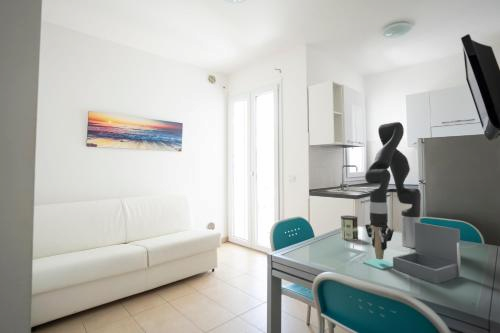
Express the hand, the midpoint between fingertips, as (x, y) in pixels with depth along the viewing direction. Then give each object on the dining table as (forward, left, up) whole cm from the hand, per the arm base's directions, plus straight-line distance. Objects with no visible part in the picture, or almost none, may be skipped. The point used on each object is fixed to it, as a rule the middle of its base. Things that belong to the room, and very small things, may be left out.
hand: (379, 248), depth 121 cm
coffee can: (-24, -41, -8) cm, 48 cm away
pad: (0, 0, -8) cm, 8 cm away
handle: (0, 0, -5) cm, 5 cm away
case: (-9, +15, -8) cm, 19 cm away
